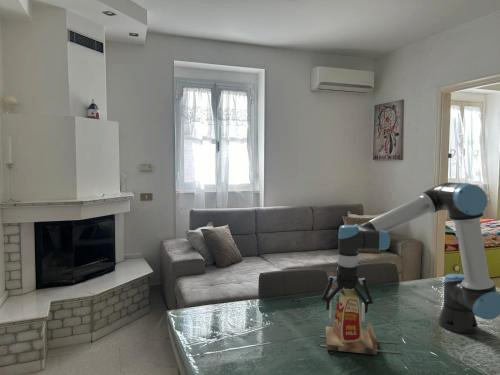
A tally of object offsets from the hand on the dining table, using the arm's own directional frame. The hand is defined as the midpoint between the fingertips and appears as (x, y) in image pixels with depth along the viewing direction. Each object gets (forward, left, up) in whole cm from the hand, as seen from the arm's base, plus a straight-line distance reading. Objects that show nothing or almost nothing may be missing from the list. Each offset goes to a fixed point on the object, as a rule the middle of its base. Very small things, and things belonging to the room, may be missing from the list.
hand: (346, 319), depth 145 cm
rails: (-5, 0, -10) cm, 11 cm away
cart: (-1, 0, -10) cm, 10 cm away
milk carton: (0, 0, -7) cm, 7 cm away
